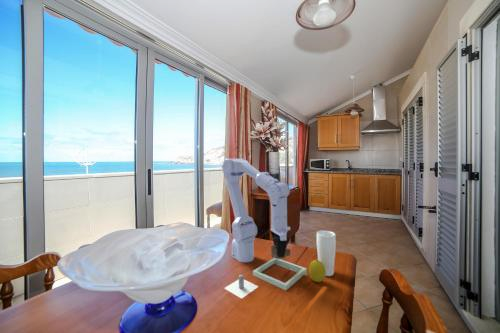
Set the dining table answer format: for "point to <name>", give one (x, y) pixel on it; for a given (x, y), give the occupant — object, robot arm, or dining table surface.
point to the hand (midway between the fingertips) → (279, 253)
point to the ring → (275, 255)
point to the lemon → (317, 271)
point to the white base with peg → (241, 287)
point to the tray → (284, 264)
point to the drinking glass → (326, 250)
